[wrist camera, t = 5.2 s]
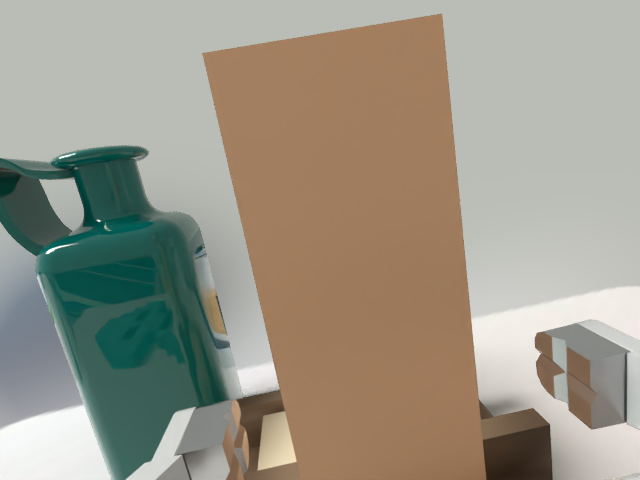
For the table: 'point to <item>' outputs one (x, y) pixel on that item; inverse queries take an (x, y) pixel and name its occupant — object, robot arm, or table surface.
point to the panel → (357, 246)
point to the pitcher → (123, 298)
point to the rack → (497, 434)
